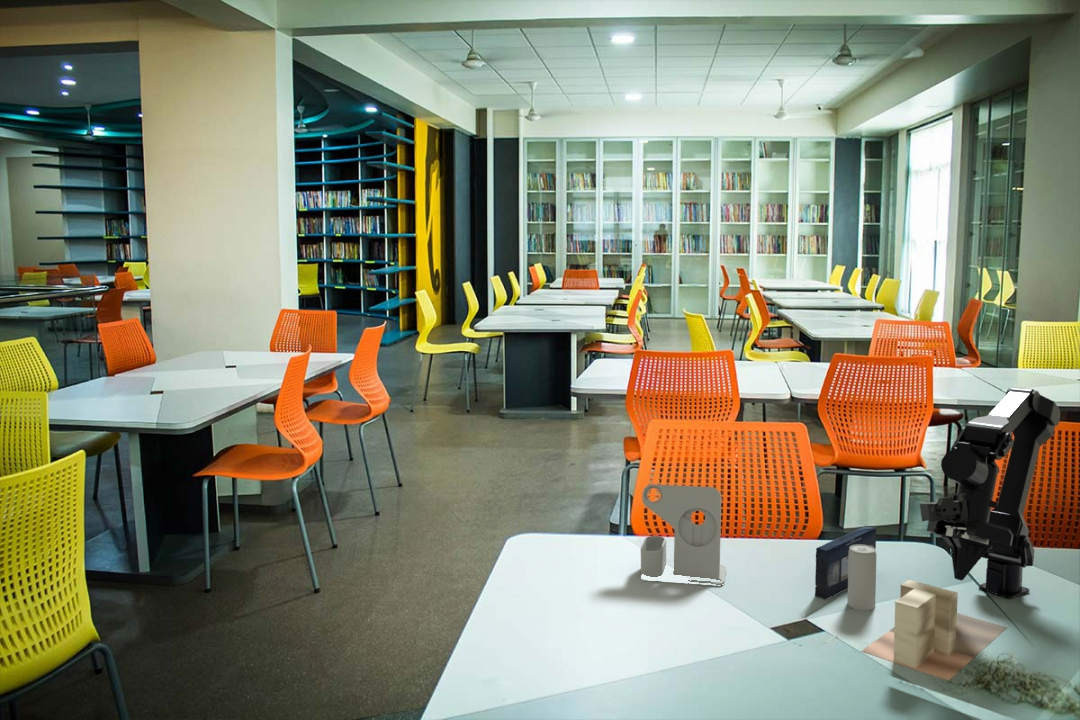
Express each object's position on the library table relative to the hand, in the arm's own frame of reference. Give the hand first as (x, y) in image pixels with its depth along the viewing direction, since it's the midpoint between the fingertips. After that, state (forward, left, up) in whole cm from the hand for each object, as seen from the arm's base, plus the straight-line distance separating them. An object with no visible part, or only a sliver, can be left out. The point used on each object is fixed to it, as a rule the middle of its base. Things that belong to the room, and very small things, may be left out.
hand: (958, 579), depth 152 cm
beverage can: (+8, -14, -9) cm, 19 cm away
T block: (+15, +4, -8) cm, 18 cm away
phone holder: (+24, -46, -9) cm, 53 cm away
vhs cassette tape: (+1, -24, -9) cm, 26 cm away
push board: (+8, +2, -9) cm, 12 cm away
